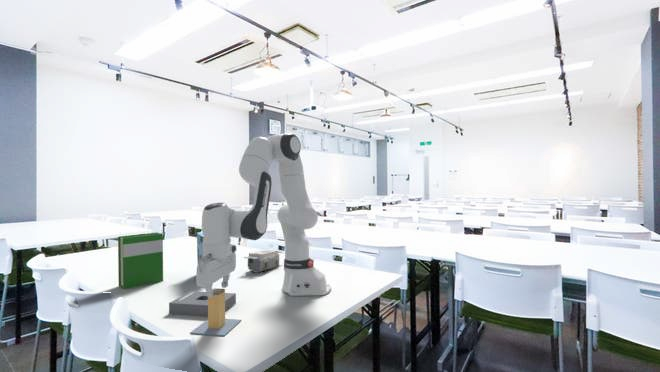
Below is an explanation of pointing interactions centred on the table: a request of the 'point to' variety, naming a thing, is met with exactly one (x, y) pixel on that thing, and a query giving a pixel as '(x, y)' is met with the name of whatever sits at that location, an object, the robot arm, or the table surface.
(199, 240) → the gum box
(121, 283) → the hardback book
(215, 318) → the plug
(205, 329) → the mat
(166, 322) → the table surface
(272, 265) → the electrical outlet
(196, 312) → the grey block with hole
